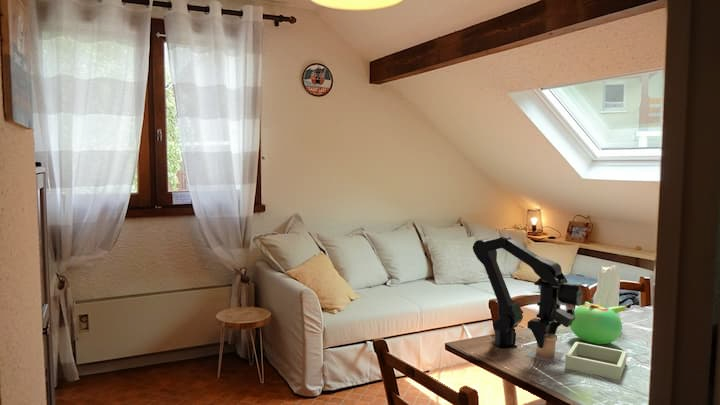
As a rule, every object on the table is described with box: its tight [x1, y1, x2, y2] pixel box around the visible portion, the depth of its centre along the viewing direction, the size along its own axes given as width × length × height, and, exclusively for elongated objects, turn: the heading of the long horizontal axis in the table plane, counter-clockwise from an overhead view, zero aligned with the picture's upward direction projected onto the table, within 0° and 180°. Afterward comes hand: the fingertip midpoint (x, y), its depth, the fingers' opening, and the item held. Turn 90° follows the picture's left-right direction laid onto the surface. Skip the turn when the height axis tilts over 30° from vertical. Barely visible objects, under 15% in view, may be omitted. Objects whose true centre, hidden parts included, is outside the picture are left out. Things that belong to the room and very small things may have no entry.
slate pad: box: [526, 347, 565, 364], centre depth 187 cm, size 10×10×1 cm
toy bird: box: [569, 301, 627, 345], centre depth 202 cm, size 18×17×15 cm
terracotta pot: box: [535, 332, 558, 358], centre depth 187 cm, size 7×7×7 cm
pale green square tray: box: [564, 341, 628, 381], centre depth 179 cm, size 16×16×4 cm
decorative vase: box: [592, 264, 621, 319], centre depth 224 cm, size 11×11×25 cm
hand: (545, 344), depth 187 cm, fingers open, 8 cm apart
